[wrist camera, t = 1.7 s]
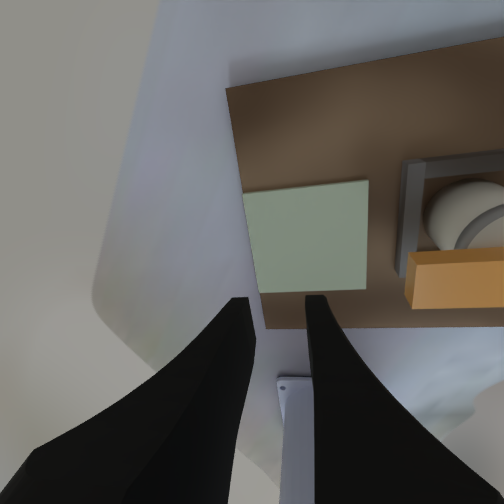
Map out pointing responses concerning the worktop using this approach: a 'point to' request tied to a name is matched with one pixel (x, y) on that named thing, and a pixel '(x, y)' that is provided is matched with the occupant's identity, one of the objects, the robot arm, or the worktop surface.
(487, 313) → the board
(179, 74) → the worktop surface
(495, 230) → the plug
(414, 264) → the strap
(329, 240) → the sage mat
